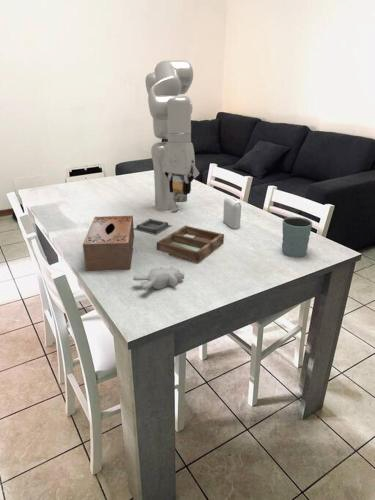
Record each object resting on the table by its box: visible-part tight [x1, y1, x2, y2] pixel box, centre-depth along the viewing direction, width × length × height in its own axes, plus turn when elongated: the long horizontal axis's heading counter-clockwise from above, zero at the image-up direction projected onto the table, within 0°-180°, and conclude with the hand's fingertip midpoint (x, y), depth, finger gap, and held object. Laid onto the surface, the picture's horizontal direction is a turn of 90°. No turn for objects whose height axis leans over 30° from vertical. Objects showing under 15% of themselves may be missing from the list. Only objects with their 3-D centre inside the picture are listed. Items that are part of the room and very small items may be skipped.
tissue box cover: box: [82, 215, 135, 272], centre depth 131 cm, size 26×14×10 cm, turn 5°
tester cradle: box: [134, 218, 173, 236], centre depth 153 cm, size 12×12×2 cm
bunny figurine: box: [133, 266, 185, 290], centre depth 111 cm, size 10×5×15 cm
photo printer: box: [222, 195, 242, 230], centre depth 155 cm, size 10×4×12 cm, turn 20°
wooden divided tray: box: [156, 225, 225, 264], centre depth 136 cm, size 20×17×4 cm
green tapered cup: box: [281, 216, 313, 258], centre depth 131 cm, size 10×10×12 cm
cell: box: [172, 174, 188, 203], centre depth 125 cm, size 5×5×10 cm
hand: (180, 192), depth 126 cm, fingers closed on cell, 5 cm apart
